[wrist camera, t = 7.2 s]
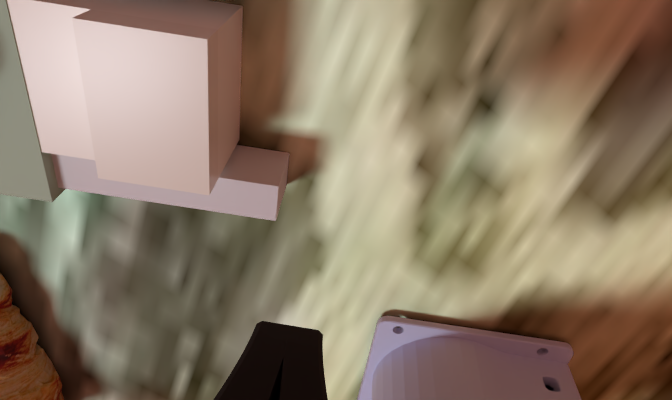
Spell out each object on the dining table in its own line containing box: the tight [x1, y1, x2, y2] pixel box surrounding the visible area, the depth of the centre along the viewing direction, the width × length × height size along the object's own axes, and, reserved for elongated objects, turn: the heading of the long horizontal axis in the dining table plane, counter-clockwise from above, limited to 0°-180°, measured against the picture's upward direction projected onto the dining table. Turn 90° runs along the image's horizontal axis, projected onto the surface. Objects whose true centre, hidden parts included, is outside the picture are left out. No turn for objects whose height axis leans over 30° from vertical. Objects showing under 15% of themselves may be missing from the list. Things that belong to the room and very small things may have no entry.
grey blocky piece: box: [0, 0, 289, 221], centre depth 15 cm, size 13×10×5 cm
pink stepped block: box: [7, 0, 243, 195], centre depth 16 cm, size 6×5×4 cm
